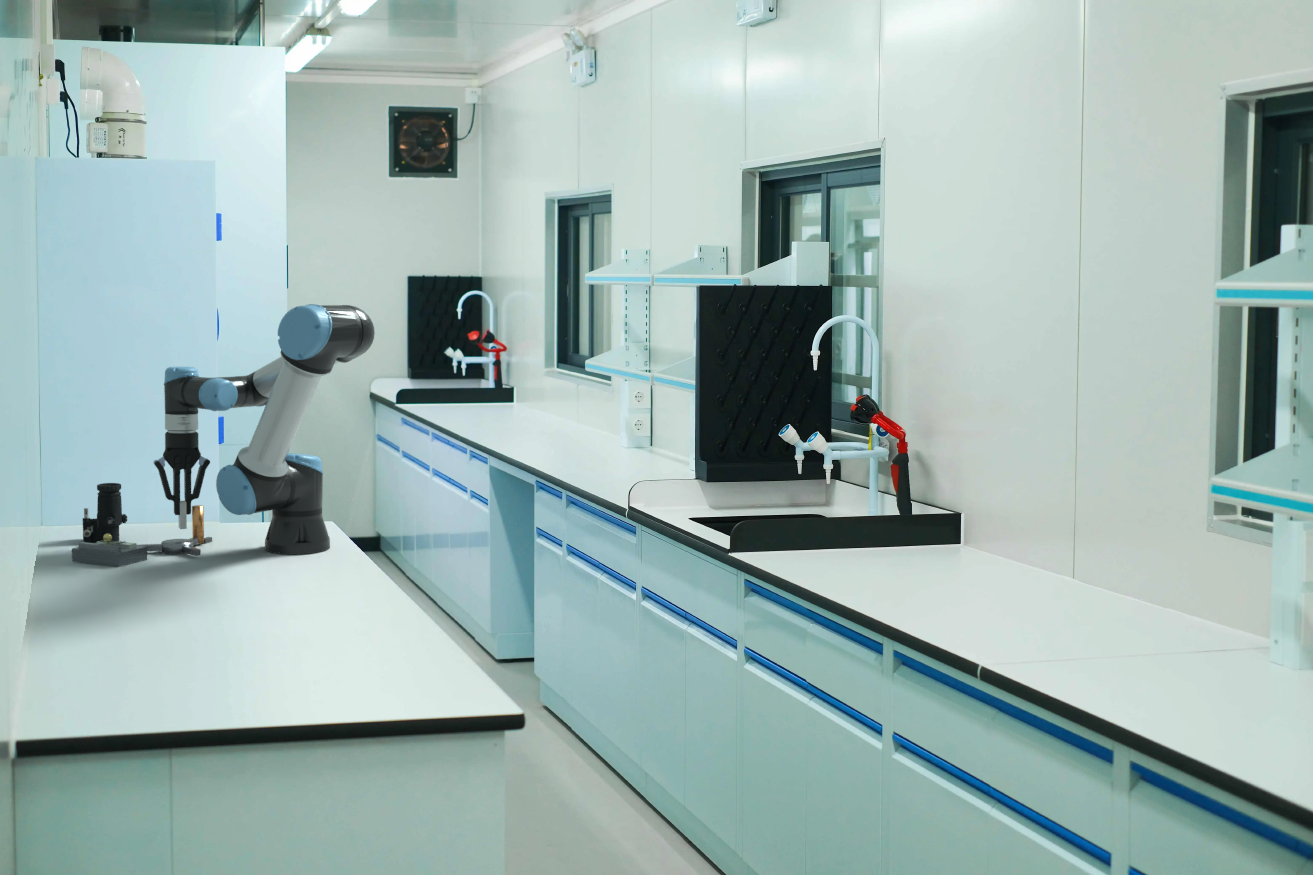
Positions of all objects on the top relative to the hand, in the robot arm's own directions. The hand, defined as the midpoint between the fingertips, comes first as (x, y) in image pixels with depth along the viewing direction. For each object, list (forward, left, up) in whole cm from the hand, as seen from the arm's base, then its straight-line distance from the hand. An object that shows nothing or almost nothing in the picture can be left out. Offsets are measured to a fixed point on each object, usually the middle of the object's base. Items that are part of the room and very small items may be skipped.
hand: (182, 527), depth 309 cm
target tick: (-3, -5, -4) cm, 7 cm away
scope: (+19, +5, -4) cm, 20 cm away
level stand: (+2, +22, -4) cm, 22 cm away
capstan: (-4, +5, -4) cm, 8 cm away
